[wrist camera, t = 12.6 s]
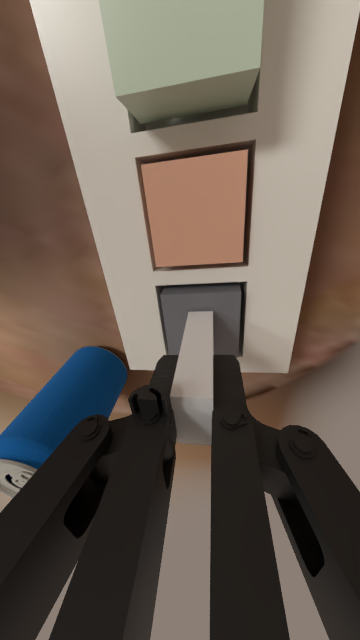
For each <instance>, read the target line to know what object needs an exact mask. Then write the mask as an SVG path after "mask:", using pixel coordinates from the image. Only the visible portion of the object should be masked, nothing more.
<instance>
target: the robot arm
mask: <svg viewBox="0 0 360 640" xmlns="http://www.w3.org/2000/svg"><path fill="white" fill-rule="evenodd" d="M128 401H129V404H130V407H131V411H132V414H131V415H129V416H127V417H124V418H121V419H116V420H112V421H108V418H107V417H105V416H104V415H100V414H95V415H91V416H88V417H86V418H84V419H83V420H81V421H80V422H79V423H78V424H77V425H76V426H75V427H74V428H73V429H72V430H71V432H70V433H69V434H68V435H67V436H66V437H65V439H64V440H63V441H62V442H61V443H60V444H59V446H58V447H57V448H56V449H55V450H54V451H53V452H52V454H51V455H50V456H49V457H48V458H47V459H46V461H45V462H44V463H43V464H42V465H41V466H40V467H39V469H38V470H37V471H36V472H35V473H34V474H33V476H32V477H31V478H30V479H29V480H28V481H27V483H26V484H25V485H24V486H23V487H22V488H21V489H20V491H19V492H18V493H17V494H16V495H15V496H14V498H13V499H12V500H11V501H10V502H9V504H8V505H7V506H6V507H5V508H4V509H3V511H2V512H1V513H0V640H35V639H36V637H37V636H38V633H39V632H40V630H41V628H42V626H43V624H44V623H45V621H46V619H47V617H48V615H49V613H50V611H51V609H52V608H53V606H54V604H55V602H56V600H57V598H58V597H59V595H60V593H61V591H62V589H63V587H64V585H65V584H66V582H67V580H68V578H69V576H70V574H71V573H72V571H73V569H74V567H75V565H76V563H77V561H78V563H77V565H76V568H75V571H74V573H73V576H72V579H71V581H70V584H69V587H68V590H67V592H66V595H65V598H64V600H63V603H62V606H61V608H60V611H59V614H58V616H57V619H56V622H55V624H54V627H53V630H52V632H51V635H50V638H49V640H150V636H151V629H152V622H153V615H154V607H155V601H156V594H157V587H158V579H159V572H160V566H161V559H162V552H163V545H164V537H165V530H166V524H167V517H168V509H169V502H170V494H171V488H172V481H173V474H174V467H175V460H176V452H175V444H176V437H177V442H178V443H187V444H200V445H211V559H210V561H211V563H210V640H290V638H289V633H288V627H287V621H286V615H285V609H284V604H283V598H282V592H281V587H280V581H279V575H278V570H277V563H276V558H275V552H274V546H273V540H272V535H271V529H270V523H269V518H268V512H267V506H266V500H265V494H264V491H265V492H267V493H269V494H271V496H272V498H273V500H274V503H275V505H276V508H277V510H278V513H279V515H280V518H281V520H282V523H283V525H284V528H285V530H286V533H287V535H288V538H289V540H290V543H291V545H292V548H293V550H294V553H295V555H296V558H297V560H298V562H299V565H300V568H301V570H302V572H303V575H304V577H305V580H306V583H307V585H308V587H309V590H310V592H311V595H312V597H313V600H314V602H315V605H316V607H317V610H318V612H319V615H320V617H321V620H322V622H323V625H324V627H325V630H326V632H327V635H328V637H329V639H330V640H360V492H359V490H358V489H357V488H356V486H355V485H354V483H353V482H352V481H351V479H350V478H349V476H348V475H347V474H346V472H345V471H344V469H343V468H342V467H341V465H340V464H339V463H338V461H337V460H336V458H335V457H334V455H333V454H332V453H331V451H330V450H329V448H328V447H327V446H326V444H325V443H324V442H323V441H322V440H321V438H320V437H318V435H317V434H315V433H314V432H312V431H311V430H309V429H307V428H304V427H301V426H298V425H289V426H287V427H284V428H283V429H282V430H278V429H275V428H272V427H269V426H267V425H264V424H262V423H260V422H259V421H257V420H256V419H255V418H254V417H253V416H252V415H251V414H250V412H249V411H248V408H247V405H246V399H245V393H244V387H243V381H242V375H241V369H240V363H239V361H238V360H237V358H236V357H235V356H234V355H214V337H213V311H198V312H188V316H187V321H186V325H185V330H184V334H183V339H182V344H181V348H180V353H179V355H163V356H162V357H161V358H160V359H159V360H158V361H157V364H156V367H155V371H154V373H153V377H152V379H151V382H150V385H147V386H143V387H140V388H138V389H136V390H135V391H134V392H132V393H131V395H130V396H129V398H128Z"/></svg>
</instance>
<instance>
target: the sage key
mask: <svg viewBox="0 0 360 640" xmlns="http://www.w3.org/2000/svg"><path fill="white" fill-rule="evenodd" d="M99 5H100V11H101V17H102V22H103V28H104V34H105V39H106V45H107V51H108V57H109V62H110V68H111V74H112V80H113V85H114V91H115V97H116V98H117V99H118V100H119V101H120V102H121V103H122V104H123V105H124V106H125V107H126V109H127V110H128V111H129V112H130V113H131V114H132V115H133V116H134V117H135V118H136V119H137V120H138V121H139V122H140V124H143V123H149V122H155V121H160V120H166V119H172V118H177V117H183V116H189V115H194V114H200V113H206V112H211V111H217V110H223V109H228V108H234V107H240V106H245V105H247V103H248V100H249V97H250V95H251V92H252V89H253V86H254V83H255V81H256V78H257V75H258V72H259V69H260V63H261V46H262V30H263V13H264V0H99Z"/></svg>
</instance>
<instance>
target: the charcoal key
mask: <svg viewBox="0 0 360 640" xmlns="http://www.w3.org/2000/svg"><path fill="white" fill-rule="evenodd" d="M160 297H161V304H162V311H163V317H164V324H165V331H166V337H167V344H168V351H169V355H179V353H180V348H181V344H182V339H183V334H184V330H185V325H186V321H187V316H188V312H198V311H213V337H214V355H234V356H235V357H236V358H238V351H239V330H240V309H241V289H240V286H239V283H238V282H224V283H203V284H181V285H165V287H164V289H163V291H162V293H161V294H160Z"/></svg>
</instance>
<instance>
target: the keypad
mask: <svg viewBox="0 0 360 640" xmlns="http://www.w3.org/2000/svg"><path fill="white" fill-rule="evenodd" d="M29 1H30V4H31V8H32V12H33V15H34V19H35V23H36V26H37V30H38V34H39V37H40V41H41V45H42V48H43V52H44V56H45V59H46V63H47V67H48V70H49V74H50V78H51V81H52V85H53V89H54V92H55V96H56V100H57V103H58V107H59V111H60V114H61V118H62V122H63V125H64V129H65V133H66V136H67V140H68V144H69V147H70V151H71V155H72V158H73V162H74V166H75V169H76V173H77V177H78V180H79V184H80V188H81V191H82V195H83V199H84V202H85V206H86V210H87V213H88V217H89V221H90V224H91V228H92V232H93V235H94V239H95V243H96V246H97V250H98V254H99V257H100V261H101V265H102V268H103V272H104V276H105V279H106V283H107V287H108V290H109V294H110V298H111V301H112V305H113V309H114V312H115V316H116V320H117V323H118V327H119V331H120V334H121V338H122V342H123V345H124V349H125V353H126V356H127V360H128V364H129V367H130V370H155V367H156V364H157V361H158V360H159V359H160V358H161V357H162V356H163V355H169V351H168V344H167V337H166V331H165V324H164V317H163V311H162V304H161V297H160V294H161V293H162V291H163V289H164V287H165V285H181V284H203V283H224V282H238V283H239V286H240V289H241V309H240V330H239V351H238V358H237V360H238V361H239V363H240V369H241V372H256V373H288V370H289V365H290V360H291V355H292V350H293V345H294V340H295V335H296V329H297V324H298V319H299V314H300V309H301V304H302V299H303V294H304V289H305V284H306V279H307V274H308V269H309V264H310V259H311V254H312V249H313V244H314V239H315V234H316V229H317V224H318V219H319V214H320V209H321V204H322V199H323V194H324V189H325V184H326V179H327V174H328V169H329V164H330V159H331V154H332V149H333V143H334V138H335V133H336V128H337V123H338V118H339V113H340V108H341V103H342V98H343V93H344V88H345V83H346V78H347V73H348V68H349V63H350V58H351V53H352V48H353V43H354V38H355V33H356V28H357V23H358V18H359V13H360V0H264V13H263V30H262V46H261V63H260V69H259V72H258V75H257V78H256V81H255V83H254V86H253V89H252V92H251V95H250V97H249V100H248V103H247V105H245V106H240V107H234V108H228V109H223V110H217V111H211V112H206V113H200V114H194V115H189V116H183V117H177V118H172V119H166V120H160V121H155V122H149V123H143V124H140V122H139V121H138V120H137V119H136V118H135V117H134V116H133V115H132V114H131V113H130V112H129V111H128V110H127V109H126V107H125V106H124V105H123V104H122V103H121V102H120V101H119V100H118V99H117V98H116V97H115V91H114V85H113V80H112V74H111V68H110V62H109V57H108V51H107V45H106V39H105V34H104V28H103V22H102V17H101V11H100V5H99V0H29ZM247 149H248V160H247V181H246V202H245V223H244V244H243V262H236V263H219V264H202V265H186V266H169V267H156V263H155V257H154V250H153V243H152V237H151V230H150V223H149V217H148V210H147V203H146V197H145V190H144V183H143V177H142V170H141V165H143V164H150V163H157V162H164V161H171V160H178V159H185V158H192V157H198V156H205V155H212V154H219V153H226V152H233V151H240V150H247Z"/></svg>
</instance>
